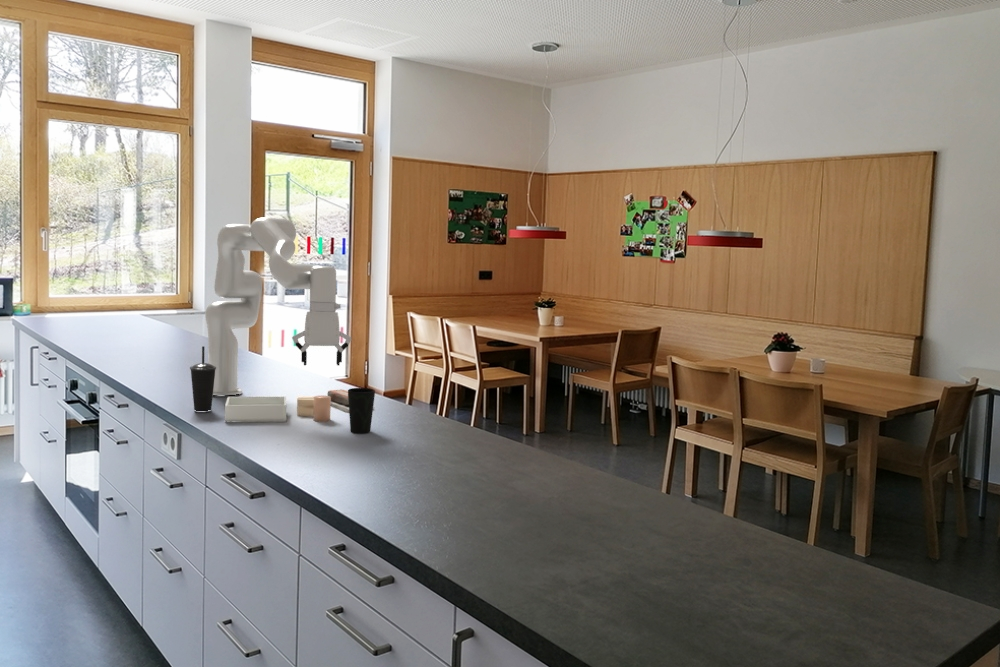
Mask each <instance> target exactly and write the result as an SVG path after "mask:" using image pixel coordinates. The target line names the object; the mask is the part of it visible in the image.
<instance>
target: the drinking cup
mask: <svg viewBox="0 0 1000 667" xmlns="http://www.w3.org/2000/svg"><path fill="white" fill-rule="evenodd" d="M215 369H216V367H215V366H213V365H211V364H208V363H206V362H205V345H204V346H202V347H201V362H200V363H197V364H194V365H192V366H190V367H189V370H190V379H191V389H192V397H193V398H192V400H193V410H196V411H208V410H211V411H212V407H213V406H212V405H213V398H214V396H213V388H214V378H215Z"/></svg>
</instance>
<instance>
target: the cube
mask: <svg viewBox="0 0 1000 667" xmlns="http://www.w3.org/2000/svg"><path fill="white" fill-rule="evenodd" d="M296 399H297V400H296V402H297V403H296V415H297V417H298V416H300V417H301V416H303V417H304V416H313V412H314V396H297V397H296Z"/></svg>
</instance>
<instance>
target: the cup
mask: <svg viewBox="0 0 1000 667" xmlns="http://www.w3.org/2000/svg"><path fill="white" fill-rule="evenodd" d="M347 391H348V401H349V413H348V414H349V416H348V417H349V428H350V429H349V430H350V433H352V434H355V435H357V434H359V435H365V434H370V433H371V428H372V420H373V419H372V418H373V413H374V412H373V411H374V410H373V407H374V404H375V396H376V389H373V388H370V387H369V388H368V387H351V388H349V389H347Z"/></svg>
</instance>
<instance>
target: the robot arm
mask: <svg viewBox="0 0 1000 667" xmlns="http://www.w3.org/2000/svg"><path fill="white" fill-rule="evenodd" d="M296 237H297V229H296V227H295V225H294V223H293V222H292V221H291V220H289V219H286V218H278V217H266V216H265V217H259V218H256V219H254V220H253V221H252V222H251V224H247V223H246V224H245V223H230V224H226V225H224V226H222V227H221V228H220V230H219V232H218V235H217V242H216V244H217V252H218V253H217V254H218V256H217V258H218V259H217V264H216V271H215V277H214V278H215V279H214V286H213V288H214V293H215V294H216V295H217V297H219V298H221V299H240V300H221V301H215V302H214V301H213V302H212V303H210V304H209V305H208V306H207V307H206V308H205V309H206V310H205V314H204V315H205V321H206V327H207V335H208V339H207V340H208V342H207V345H208V347H207V350H208V357H207V358H208V359H207V360H208V363H207V364H211V365H213V366H215V367H216V369H215V378H214V388H213V395H235V396H237V395H236V394H239V395H241V394H243V389H241V388H239V387H238V375H239V373H238V371H239V370H238V367H239V366H238V365H239V363H238V362H239V343H238V339H237V336H236V335H235V334H234V332H233V330H235V329H238V330H239V329H248V328H249V329H250V328H251V327H254V326H255V324H256V323H257V322H258V319H259V318H258V317H259V312H260V308H261V307H260V306H261V299H262V296H263V295H262V294H263V281H262V277H261V276H260V274H259V273H257V272H256V271H254V270H244V268H245V263H246V262H245V261H246V260H245V256H244V253H243V251H247V252H248V251H249V252H250V251H251V252H253V251H254V252H265V253H266V254H267V255H268V256H269V258H268V266H269V270H270V274H271V275H272V277H273V278H274V279H275V281H277V283H278V284H279V285H281V286H282V287H283V288H285V289H288V290H309V311H307V312H306V315H305V323H304V330H303V331H301V332H299V333H296V334H295V335H293V336H292V337H291V338H292V341H293V343H294V345H295V347H297V348H298V349H299V350H300V352H301V363H303V366H306V365H307V359H308V357H307V356H308V355H307V353H308V352H307V349H308V348H309V347H312V346H313V347H316V346H317V347H335V348H336V349H337V350H336V361H335V362H336V366H340V363H342V361H343V352H344V351H345V350H346V348H348V346H349V345H350V343H351V341H352V340H353V339H352V336H350V335H348V334H347V333H344V332H342V331H340V319H339V318H340V317H339V313H338V312H337V311H336V310H338V309H340V310H341V306H342V305H341V304H340V303H337V301H336V300H337V296H336V295H337V271H336V270H337V269H336V268H335V267H333V266H331V265H328V266H327V265H320V264H311V263H310V264H309V263H308V264H307V263H290V262H289V260H290V259H291V258H293V256H294V253H295V252H296V244H295V239H296ZM303 337H304V343H303V345H302V344H301V343H300V341H299V339H301V338H303ZM340 337H341V338H343V339H344V340H345V341H344V342H343V344H342V345H340Z"/></svg>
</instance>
